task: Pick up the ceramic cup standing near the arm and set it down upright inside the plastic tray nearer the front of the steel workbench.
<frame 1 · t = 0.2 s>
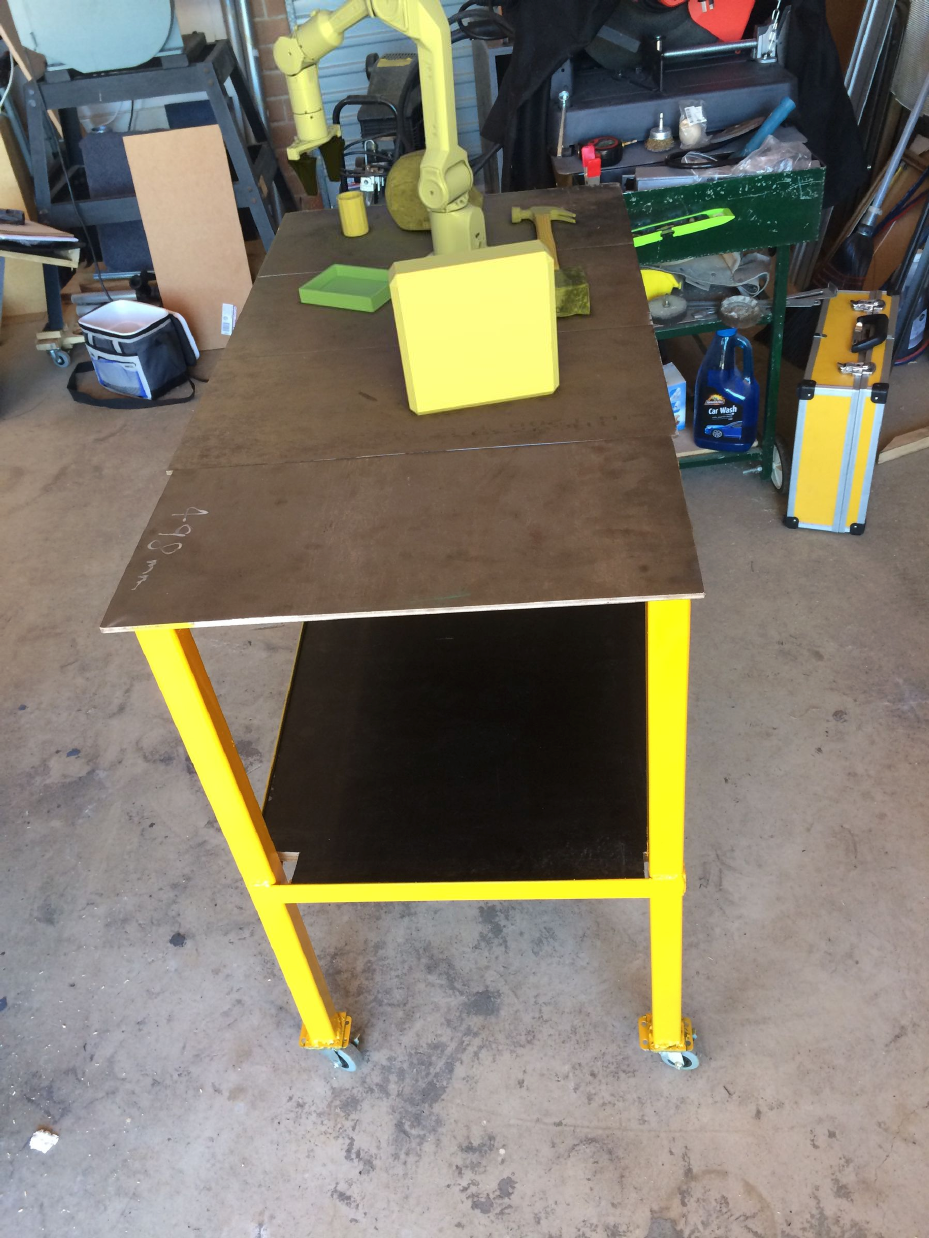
hand: (323, 188, 179), 10 cm above the table, tool pointing down, fingers open, 7 cm apart
stone block: (541, 310, 152), on the table
hammer: (546, 246, 172), on the table
stone: (437, 229, 184), on the table
tray: (354, 294, 165), on the table
yellow beveled square tile: (483, 396, 133), on the table
cup: (356, 231, 188), on the table
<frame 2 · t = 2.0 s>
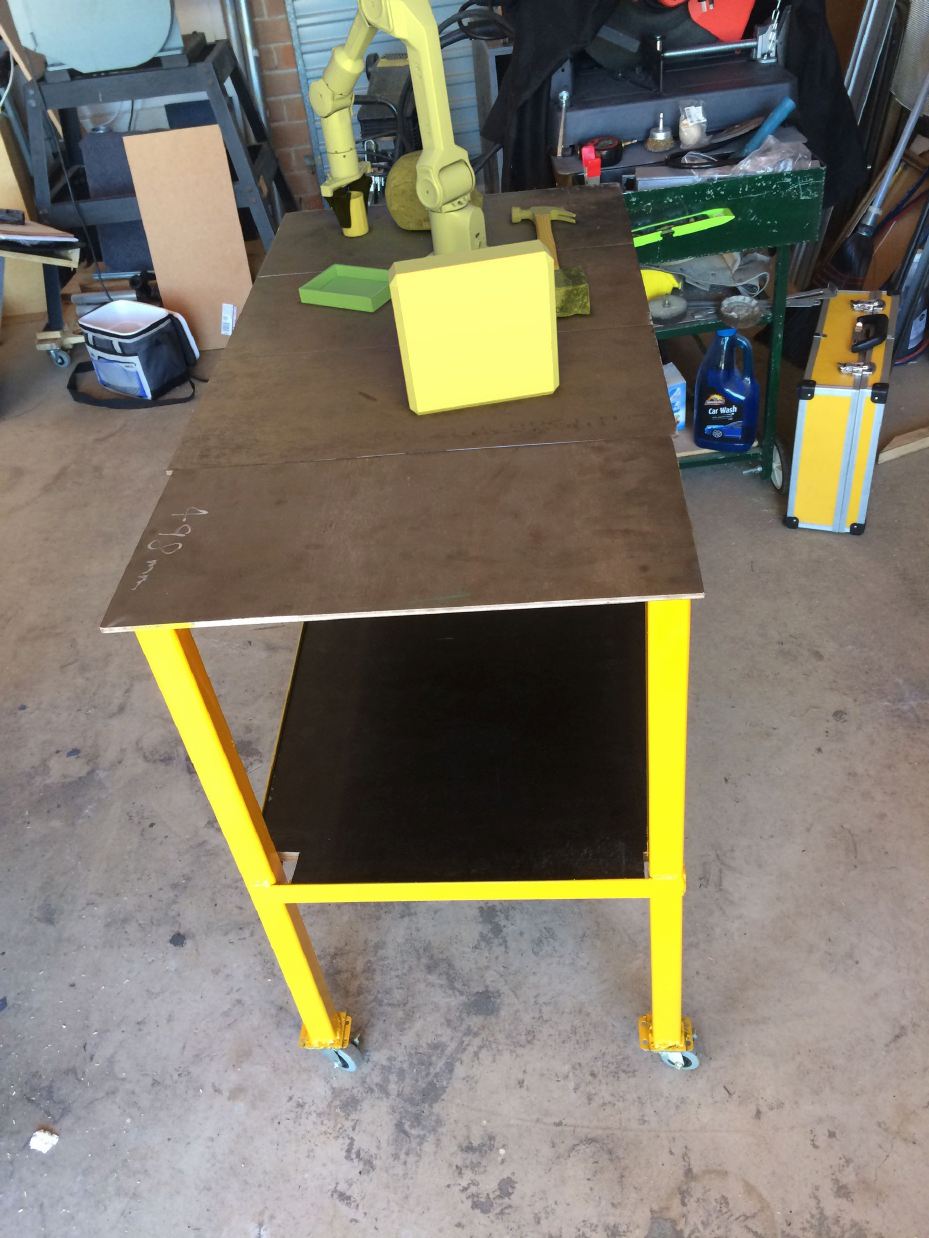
hand: (354, 222, 186), 2 cm above the table, tool pointing down, fingers closed on cup, 5 cm apart
cup: (356, 231, 188), on the table, touching gripper
everything else where it was.
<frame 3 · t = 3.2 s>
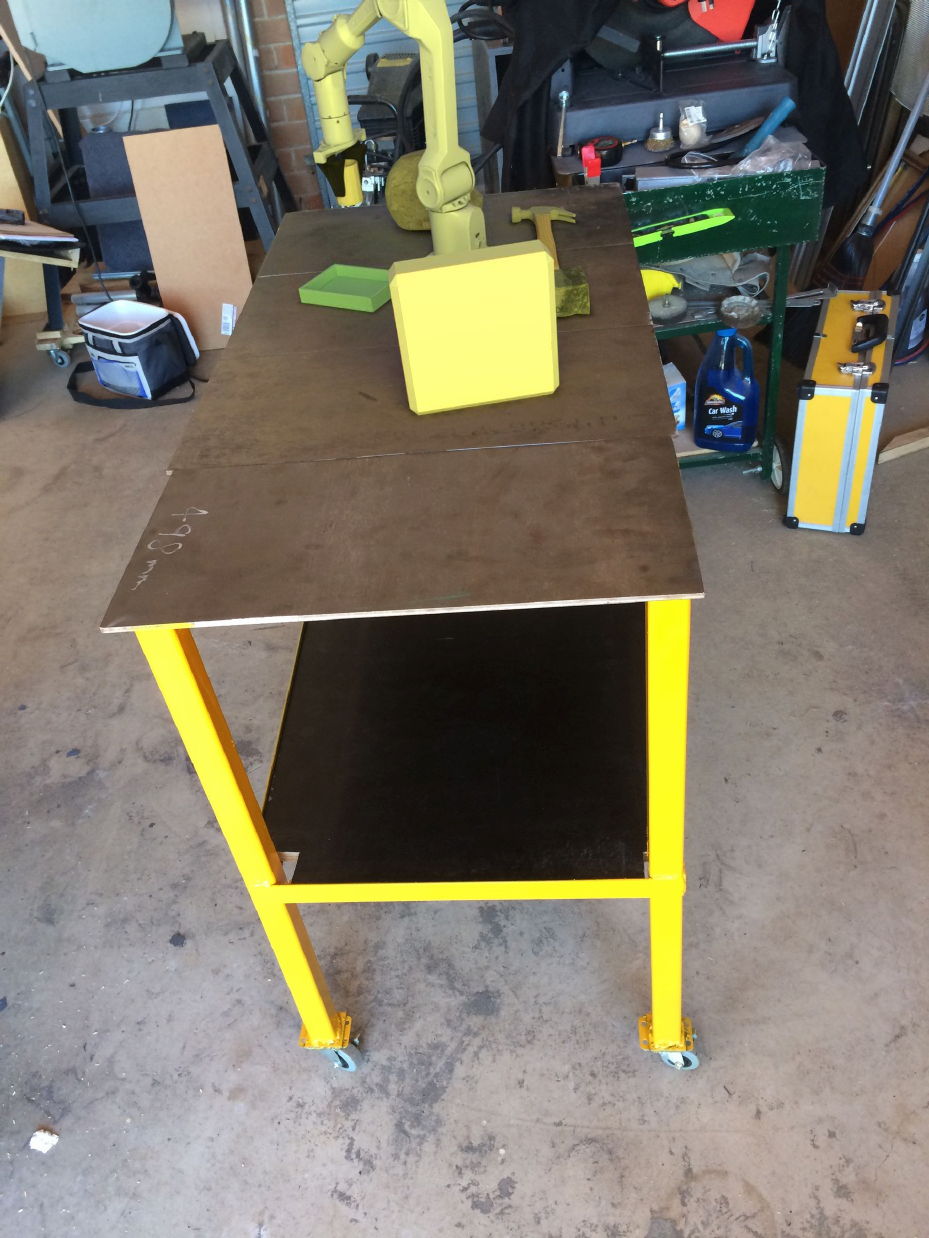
hand: (348, 191, 182), 8 cm above the table, tool pointing down, fingers closed on cup, 5 cm apart
cup: (350, 201, 183), point 6 cm above the table, touching gripper
everything else where it was.
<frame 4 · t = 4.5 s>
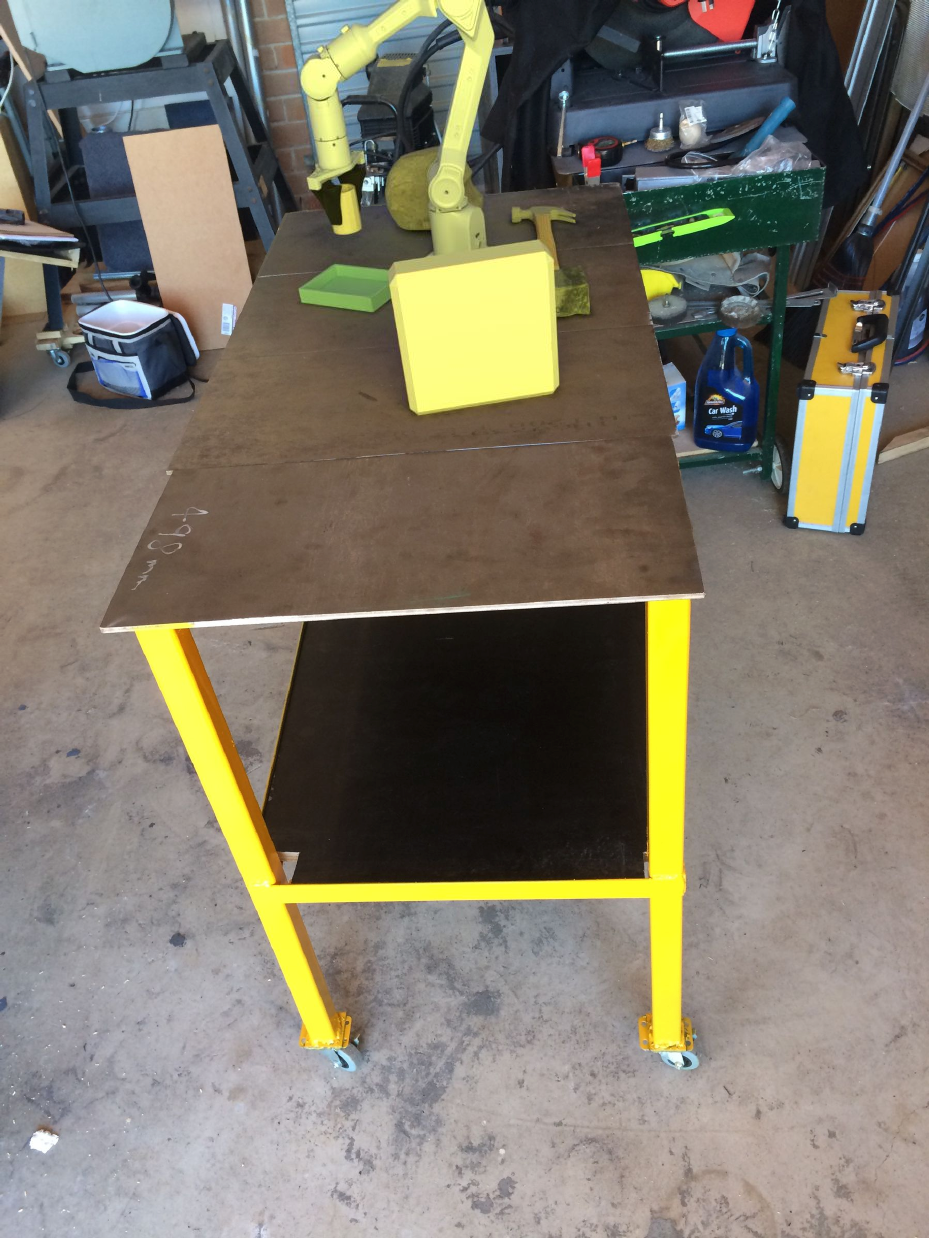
hand: (346, 218, 168), 9 cm above the table, tool pointing down, fingers closed on cup, 5 cm apart
cup: (347, 229, 169), point 7 cm above the table, touching gripper
everything else where it was.
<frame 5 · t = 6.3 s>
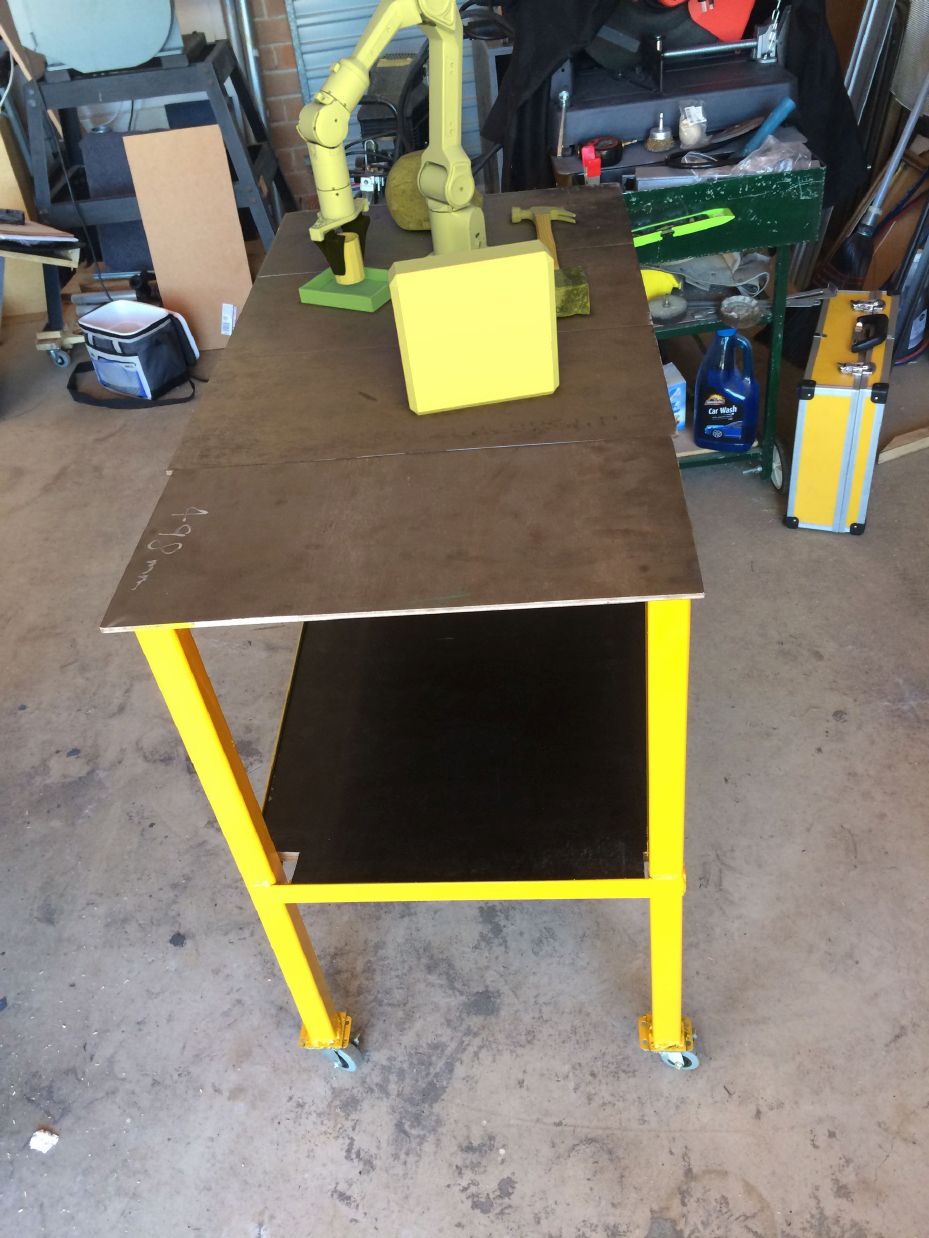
hand: (349, 267, 161), 5 cm above the table, tool pointing down, fingers closed on cup, 5 cm apart
cup: (350, 278, 163), point 3 cm above the table, touching gripper
everything else where it was.
when the fingers open (2 cm above the table, at t = 7.5 s): cup stays where it is, resting on tray.
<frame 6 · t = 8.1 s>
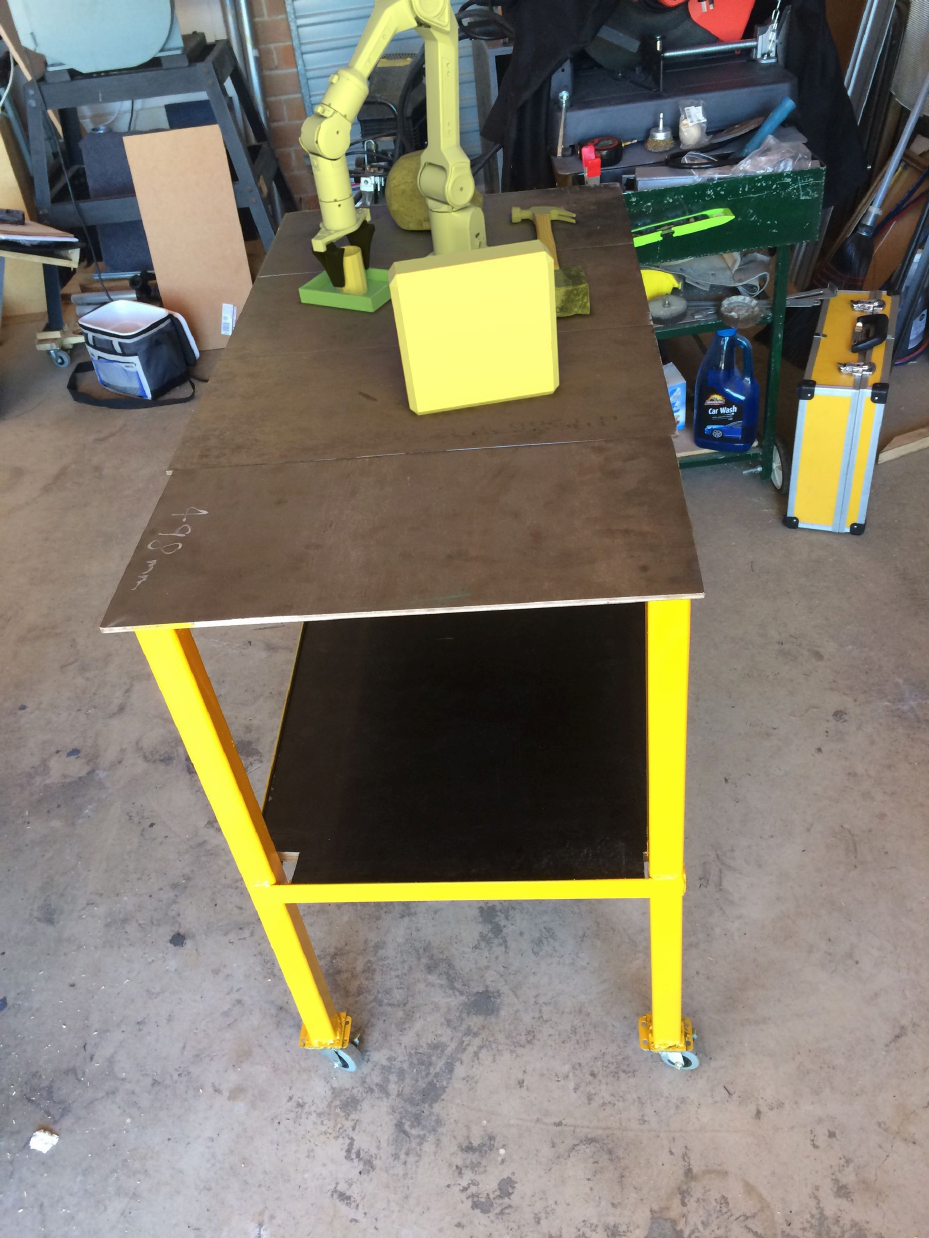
hand: (351, 277, 163), 3 cm above the table, tool pointing down, fingers open, 7 cm apart
cup: (353, 291, 164), resting on tray
everything else where it was.
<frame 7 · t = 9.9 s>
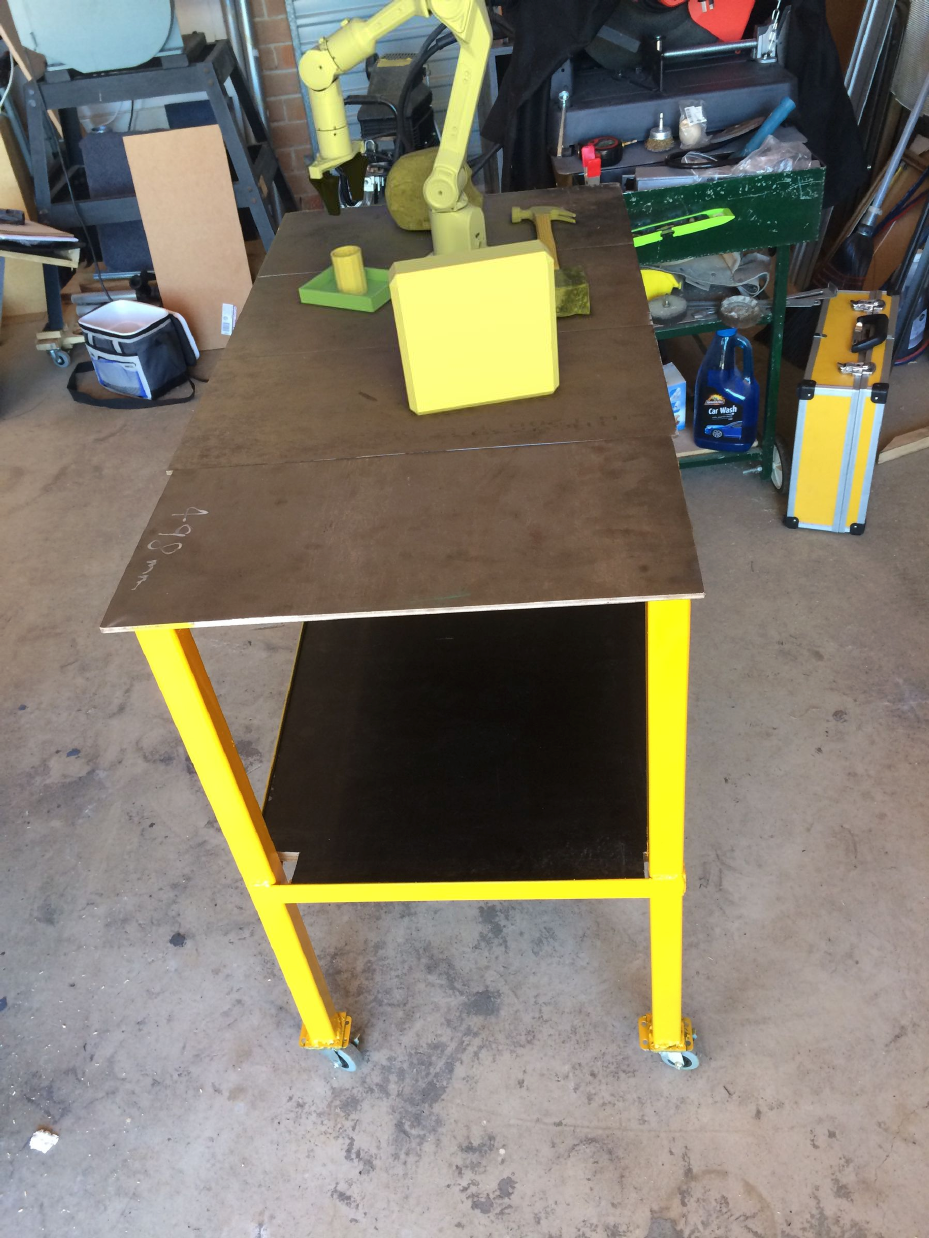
hand: (346, 207, 171), 9 cm above the table, tool pointing down, fingers open, 7 cm apart
nothing on the table moved.
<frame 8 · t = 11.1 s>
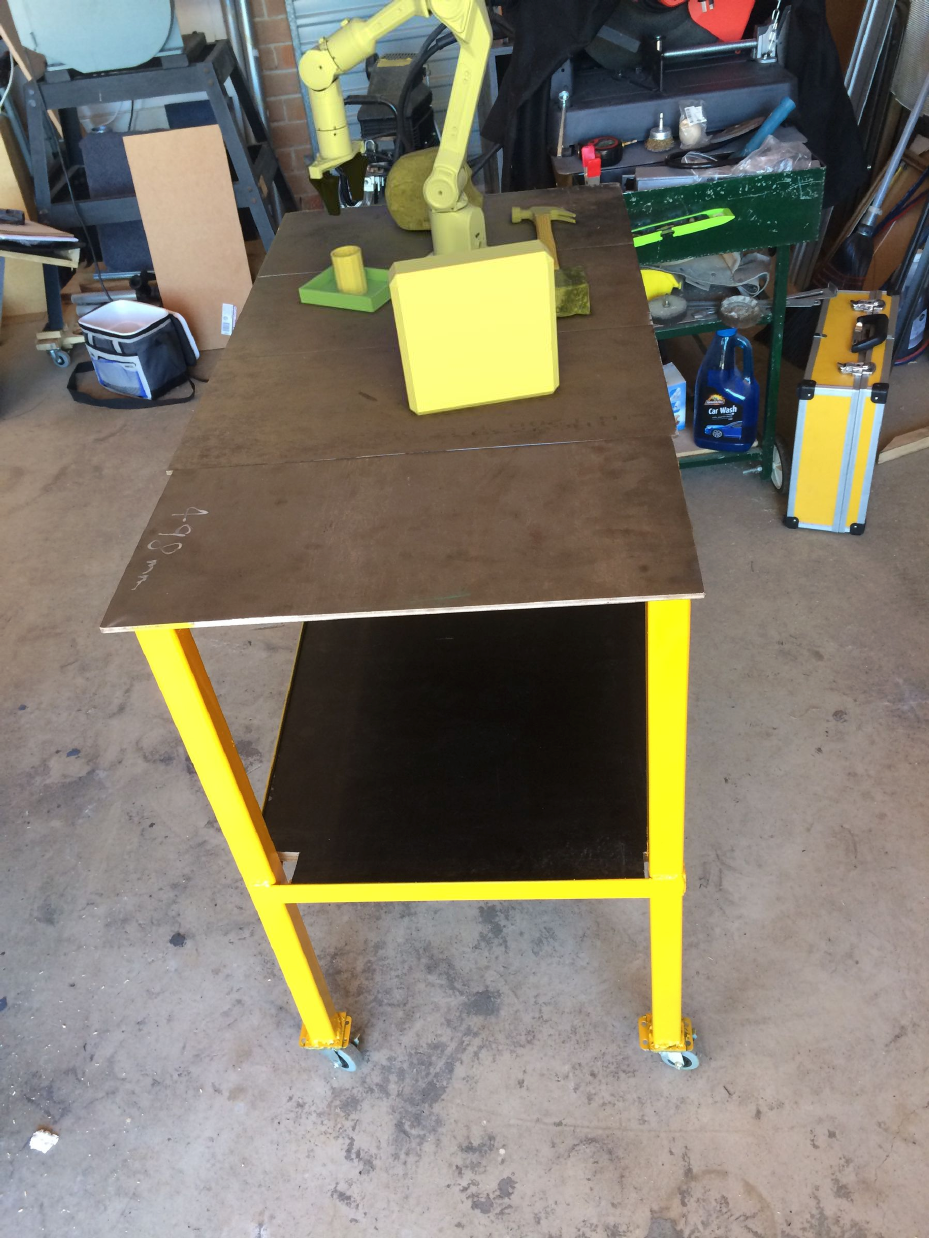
hand: (346, 207, 171), 9 cm above the table, tool pointing down, fingers open, 7 cm apart
nothing on the table moved.
at the end: cup inside the target area in the tray (0.1 cm from its centre), point 0.5 cm above the tray's base; cup tilted 0°; the gripper is holding nothing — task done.
